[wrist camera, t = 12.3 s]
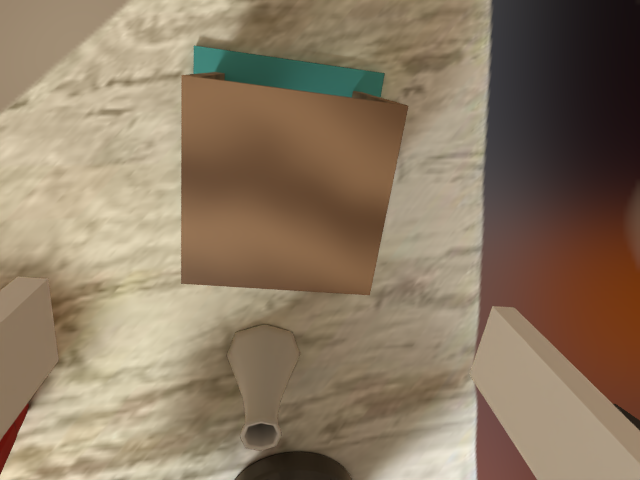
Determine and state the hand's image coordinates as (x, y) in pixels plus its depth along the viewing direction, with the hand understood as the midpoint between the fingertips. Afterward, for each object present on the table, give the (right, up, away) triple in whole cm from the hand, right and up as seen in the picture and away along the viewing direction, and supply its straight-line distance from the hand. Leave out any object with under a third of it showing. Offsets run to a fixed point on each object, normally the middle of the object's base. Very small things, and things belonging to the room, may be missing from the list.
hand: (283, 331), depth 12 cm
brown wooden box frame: (-2, +10, +20) cm, 22 cm away
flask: (-5, -8, +28) cm, 30 cm away
